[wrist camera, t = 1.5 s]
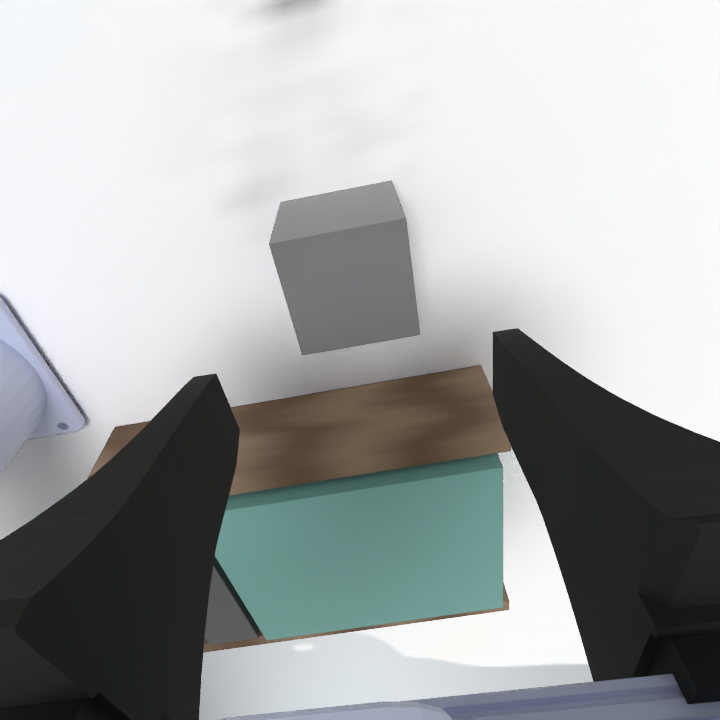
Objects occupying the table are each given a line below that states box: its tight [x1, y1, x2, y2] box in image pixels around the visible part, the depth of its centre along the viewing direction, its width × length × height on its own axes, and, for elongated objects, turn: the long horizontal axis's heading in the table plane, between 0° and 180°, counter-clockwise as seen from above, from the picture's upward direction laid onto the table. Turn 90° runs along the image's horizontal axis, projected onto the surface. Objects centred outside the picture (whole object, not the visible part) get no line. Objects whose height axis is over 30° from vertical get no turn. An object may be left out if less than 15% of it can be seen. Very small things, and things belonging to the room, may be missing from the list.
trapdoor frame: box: [88, 365, 511, 652], centre depth 27 cm, size 20×15×5 cm
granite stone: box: [269, 181, 420, 355], centre depth 19 cm, size 4×4×4 cm
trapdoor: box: [205, 453, 503, 645], centre depth 26 cm, size 18×12×3 cm
